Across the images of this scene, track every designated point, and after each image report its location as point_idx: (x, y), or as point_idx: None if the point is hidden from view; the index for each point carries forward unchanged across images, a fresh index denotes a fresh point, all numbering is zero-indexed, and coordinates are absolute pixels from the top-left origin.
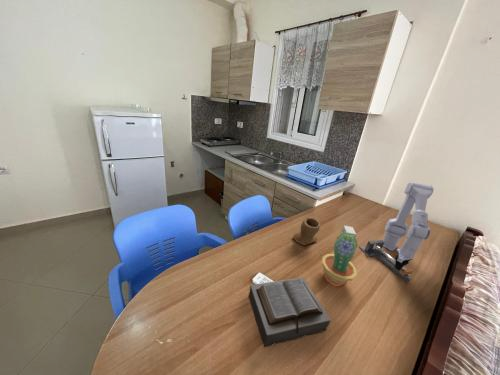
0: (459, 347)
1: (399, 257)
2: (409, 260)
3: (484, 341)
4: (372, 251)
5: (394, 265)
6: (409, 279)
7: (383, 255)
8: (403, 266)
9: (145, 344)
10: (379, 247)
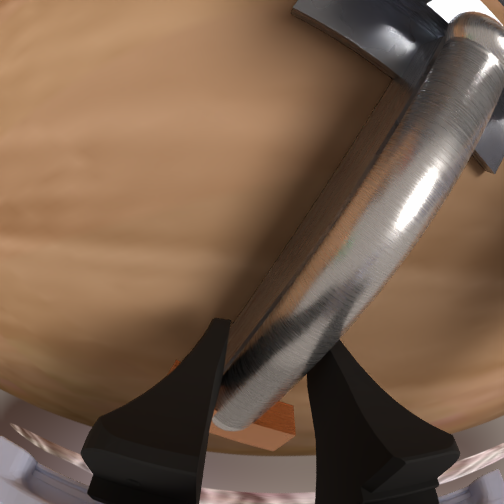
0: (63, 450)
1: (5, 496)
2: (316, 498)
3: None
4: (424, 28)
5: None
6: None
7: (389, 142)
8: (267, 407)
9: None
10: (491, 57)
